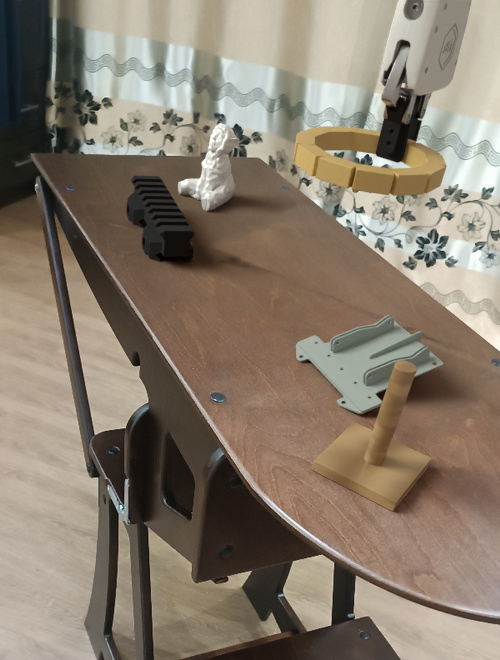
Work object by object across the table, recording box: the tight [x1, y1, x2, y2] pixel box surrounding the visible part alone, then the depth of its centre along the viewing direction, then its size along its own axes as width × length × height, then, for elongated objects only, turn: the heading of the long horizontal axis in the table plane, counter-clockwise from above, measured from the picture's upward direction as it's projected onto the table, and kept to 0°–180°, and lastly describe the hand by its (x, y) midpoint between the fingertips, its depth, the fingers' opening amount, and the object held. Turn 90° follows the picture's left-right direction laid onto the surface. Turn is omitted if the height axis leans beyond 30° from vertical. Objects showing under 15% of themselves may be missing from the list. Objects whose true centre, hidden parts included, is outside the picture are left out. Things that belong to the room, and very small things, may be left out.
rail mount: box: [125, 175, 196, 263], centre depth 107 cm, size 21×6×5 cm, turn 16°
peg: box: [311, 361, 432, 512], centre depth 68 cm, size 9×9×12 cm
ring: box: [292, 125, 448, 197], centre depth 77 cm, size 16×16×2 cm
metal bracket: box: [295, 314, 444, 415], centre depth 85 cm, size 14×6×15 cm
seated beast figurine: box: [177, 122, 240, 212], centre depth 119 cm, size 10×9×12 cm
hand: (393, 155), depth 82 cm, fingers closed on ring, 2 cm apart
